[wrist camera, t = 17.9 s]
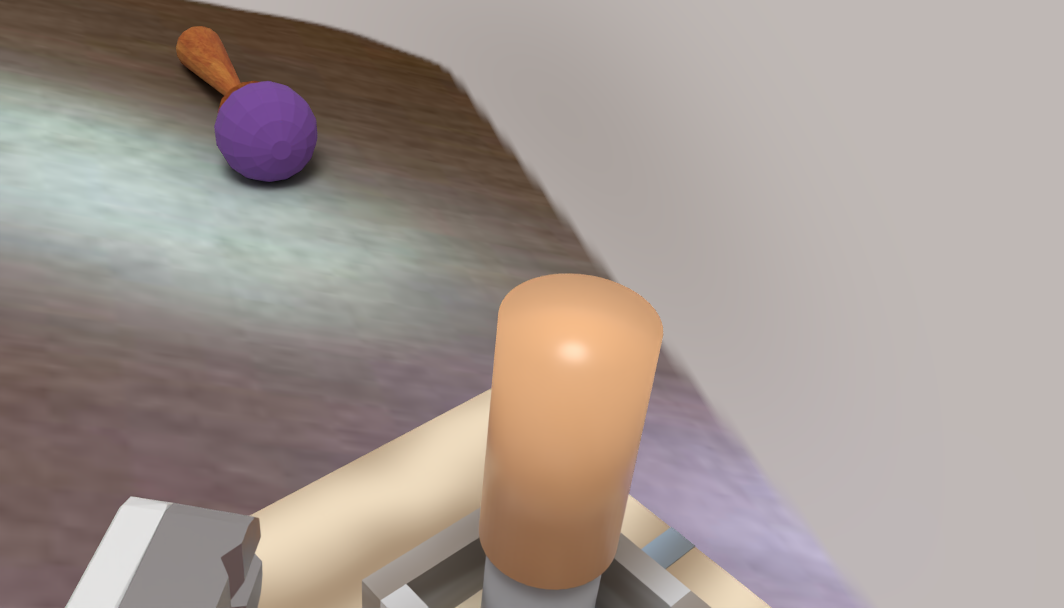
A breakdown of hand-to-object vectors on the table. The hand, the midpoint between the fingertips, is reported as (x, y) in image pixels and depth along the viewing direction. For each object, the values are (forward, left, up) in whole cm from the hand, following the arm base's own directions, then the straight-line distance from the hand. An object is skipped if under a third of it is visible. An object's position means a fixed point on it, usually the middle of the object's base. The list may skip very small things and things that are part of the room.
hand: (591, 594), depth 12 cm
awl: (-9, +9, -19) cm, 23 cm away
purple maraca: (-52, +23, -22) cm, 61 cm away
